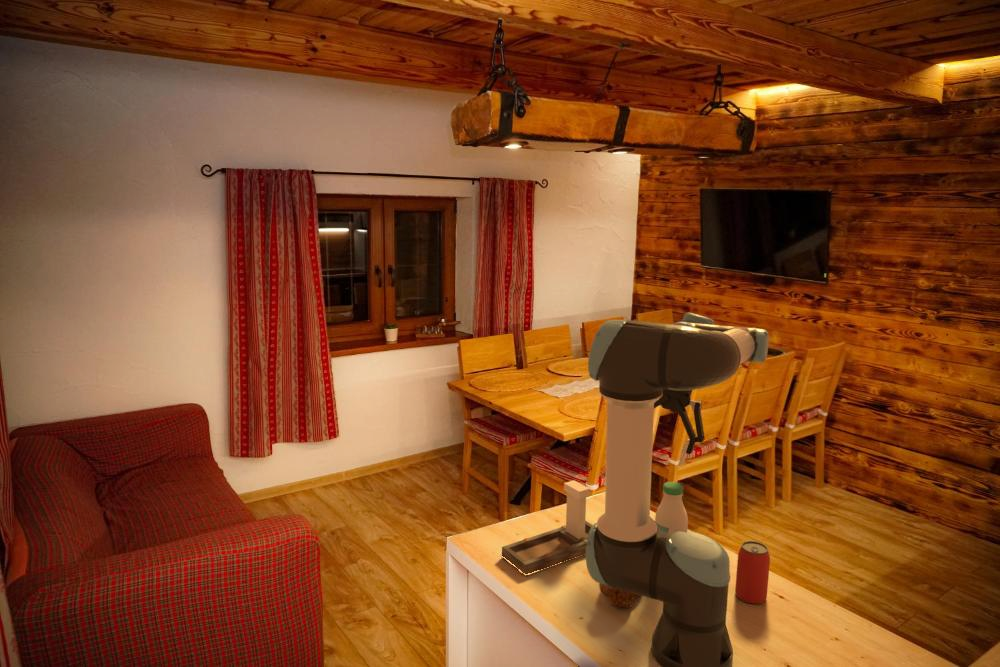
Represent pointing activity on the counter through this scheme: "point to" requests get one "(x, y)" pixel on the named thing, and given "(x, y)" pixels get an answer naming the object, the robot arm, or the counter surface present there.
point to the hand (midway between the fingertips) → (654, 454)
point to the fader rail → (543, 550)
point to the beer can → (752, 572)
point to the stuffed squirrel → (619, 596)
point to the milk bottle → (671, 511)
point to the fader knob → (575, 513)
